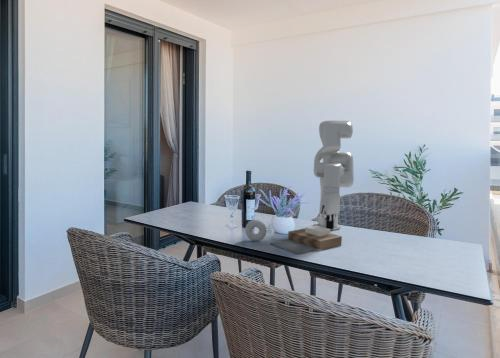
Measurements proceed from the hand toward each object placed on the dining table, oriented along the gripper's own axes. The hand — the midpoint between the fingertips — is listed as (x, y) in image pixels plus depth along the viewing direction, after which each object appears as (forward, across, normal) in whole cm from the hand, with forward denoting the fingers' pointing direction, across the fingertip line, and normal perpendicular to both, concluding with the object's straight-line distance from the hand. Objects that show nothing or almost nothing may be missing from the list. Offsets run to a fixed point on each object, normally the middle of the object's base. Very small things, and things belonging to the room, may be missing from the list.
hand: (329, 228), depth 179 cm
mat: (+5, +24, 0) cm, 24 cm away
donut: (+5, +31, -17) cm, 36 cm away
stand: (+5, +10, 0) cm, 11 cm away
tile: (0, +8, 0) cm, 8 cm away
